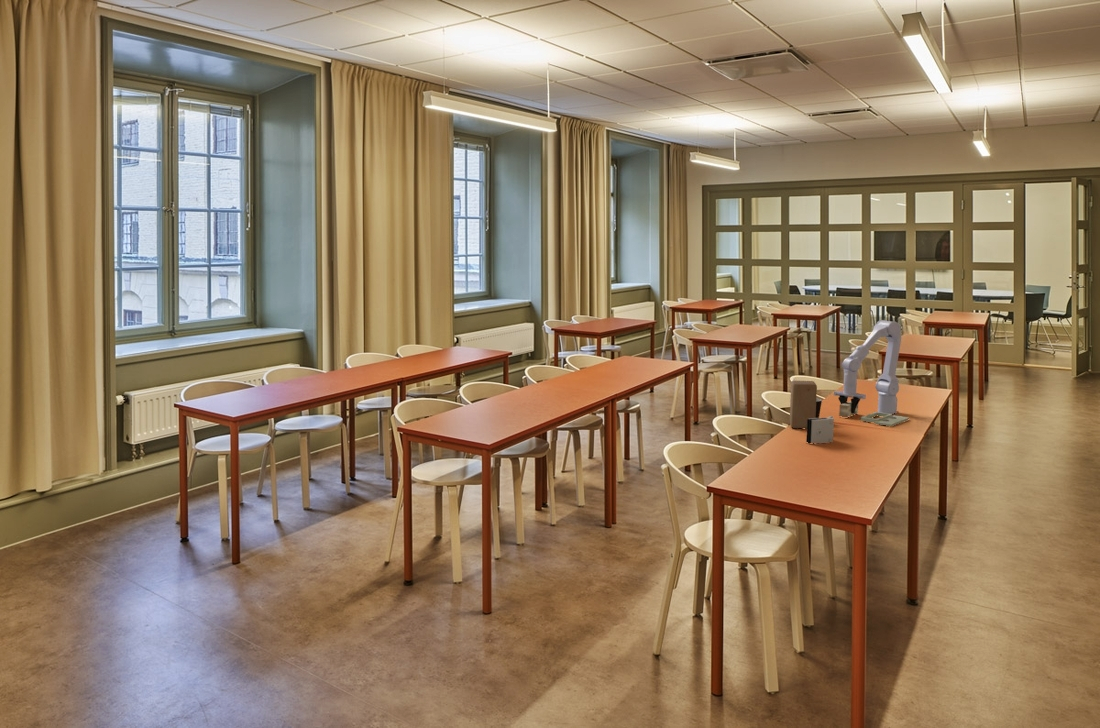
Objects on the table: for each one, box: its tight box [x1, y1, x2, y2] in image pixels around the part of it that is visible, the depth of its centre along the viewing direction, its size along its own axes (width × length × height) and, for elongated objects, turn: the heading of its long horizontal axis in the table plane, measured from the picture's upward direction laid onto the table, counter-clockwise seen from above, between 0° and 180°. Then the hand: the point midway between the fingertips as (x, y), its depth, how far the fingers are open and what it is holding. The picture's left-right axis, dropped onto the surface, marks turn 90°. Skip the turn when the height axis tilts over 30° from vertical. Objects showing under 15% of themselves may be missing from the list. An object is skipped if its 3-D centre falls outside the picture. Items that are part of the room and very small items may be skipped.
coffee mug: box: [816, 397, 823, 418], centre depth 373 cm, size 12×9×10 cm
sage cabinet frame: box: [860, 411, 910, 427], centre depth 371 cm, size 20×14×2 cm
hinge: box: [805, 415, 835, 444], centre depth 331 cm, size 14×5×10 cm, turn 116°
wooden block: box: [789, 380, 818, 430], centre depth 359 cm, size 10×10×20 cm
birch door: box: [838, 400, 859, 417], centre depth 383 cm, size 12×4×6 cm, turn 135°
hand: (848, 412), depth 383 cm, fingers closed on birch door, 3 cm apart
